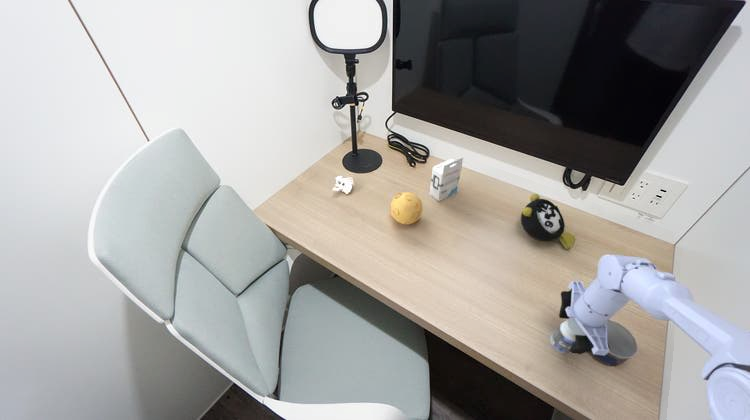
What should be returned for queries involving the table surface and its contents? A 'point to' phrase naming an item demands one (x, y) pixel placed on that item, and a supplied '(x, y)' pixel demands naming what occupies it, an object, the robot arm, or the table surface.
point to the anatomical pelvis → (347, 184)
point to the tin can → (617, 345)
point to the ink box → (445, 179)
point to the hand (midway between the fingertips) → (569, 333)
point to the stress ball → (406, 208)
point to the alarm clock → (545, 222)
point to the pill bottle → (566, 335)
